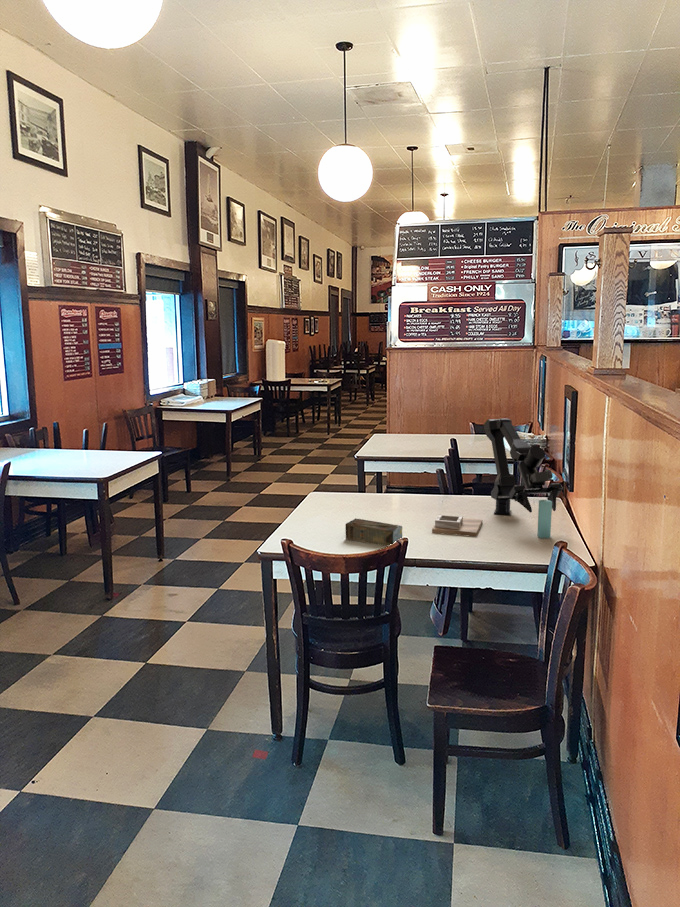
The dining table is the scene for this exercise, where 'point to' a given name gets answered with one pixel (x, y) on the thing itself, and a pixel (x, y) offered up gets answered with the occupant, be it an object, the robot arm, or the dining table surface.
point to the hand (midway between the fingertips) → (543, 511)
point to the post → (544, 518)
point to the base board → (456, 525)
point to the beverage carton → (373, 532)
